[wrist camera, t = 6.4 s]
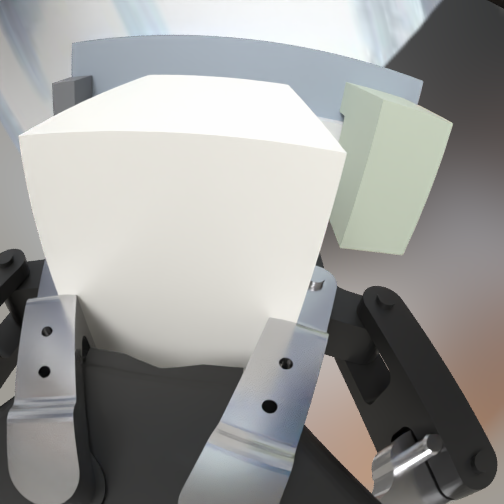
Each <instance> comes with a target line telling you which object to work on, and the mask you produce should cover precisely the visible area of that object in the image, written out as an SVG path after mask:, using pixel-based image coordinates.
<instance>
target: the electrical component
mask: <svg viewBox="0 0 504 504" xmlns="http://www.w3.org/2000/svg"><path fill="white" fill-rule="evenodd" d="M488 1H491V2H493V3H494V4H496V5H498V6H500V7H502V8H504V0H488Z"/></svg>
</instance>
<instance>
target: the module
mask: <svg viewBox="0 0 504 504" xmlns="http://www.w3.org/2000/svg"><path fill="white" fill-rule="evenodd" d="M19 143H20V150H21V157H22V163H23V169H24V174H25V179H26V184H27V189H28V194H29V198H30V203H31V207H32V211H33V215H34V219H35V223H36V227H37V231H38V234H39V238H40V241H41V245H42V248H43V251H44V254H45V258H46V261H47V264H48V267H49V270H50V273H51V276H52V279H53V282H54V284H55V287H56V290H57V293H58V295H66V294H69V295H77V297H78V300H79V303H80V306H81V309H82V311H83V314H84V317H85V320H86V322H87V325H88V328H89V330H90V333H91V336H92V338H93V341H94V343H95V346H96V348H97V349H102V350H107V351H112V352H118V353H124V354H126V355H129V356H131V357H134V358H136V359H138V360H141V361H143V362H146V363H148V364H151V365H153V366H156V367H159V368H173V367H184V366H193V365H202V364H205V365H216V366H227V367H240V368H244V369H243V373H244V370H245V368H246V366H247V364H248V362H249V360H250V358H251V356H252V353H253V351H254V349H255V347H256V345H257V343H258V340H259V338H260V336H261V334H262V332H263V330H264V327H265V325H266V323H267V321H268V319H269V317H271V318H276V319H282V320H287V321H291V322H295V323H297V320H298V317H299V314H300V311H301V308H302V305H303V302H304V299H305V296H306V293H307V290H308V287H309V284H310V281H311V278H312V275H313V271H314V268H315V265H316V262H317V259H318V255H319V252H320V249H321V245H322V242H323V239H324V235H325V232H326V228H327V225H328V222H329V218H330V215H331V211H332V208H333V204H334V200H335V197H336V193H337V189H338V186H339V182H340V178H341V174H342V171H343V167H344V163H345V159H346V155H347V153H346V151H345V150H344V149H343V148H342V146H341V145H340V144H339V143H338V141H337V140H336V139H335V138H334V136H333V135H332V134H331V133H330V132H329V130H328V129H327V128H326V127H325V126H324V124H323V123H322V122H321V121H320V120H319V118H318V117H317V116H316V115H315V114H314V113H313V112H312V110H311V109H310V108H309V107H308V106H307V105H306V104H305V102H304V101H303V100H302V99H301V98H300V97H299V96H298V95H297V94H296V93H295V91H294V90H293V89H292V88H291V87H290V86H289V85H286V84H280V83H273V82H265V81H257V80H248V79H238V78H227V77H214V76H196V75H147V76H144V77H141V78H139V79H136V80H133V81H131V82H128V83H125V84H123V85H120V86H118V87H115V88H113V89H110V90H108V91H106V92H103V93H101V94H99V95H96V96H94V97H92V98H90V99H88V100H85V101H83V102H81V103H79V104H77V105H75V106H73V107H71V108H69V109H67V110H65V111H63V112H61V113H59V114H57V115H55V116H53V117H51V118H49V119H47V120H45V121H44V122H42V123H40V124H38V125H36V126H35V127H33V128H31V129H29V130H28V131H26V132H24V133H22V134H21V135H19Z"/></svg>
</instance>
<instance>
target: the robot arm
mask: <svg viewBox="0 0 504 504" xmlns="http://www.w3.org/2000/svg"><path fill="white" fill-rule="evenodd" d="M4 302H5V304H6V306H7V308H8V309H9V311H10V313H9V315H8V316H7V317H6V318H5V319H4V320H3V322H2V323H1V324H0V388H1V387H2V385H3V384H4V382H5V381H6V379H7V378H8V376H9V375H10V373H11V372H12V371H13V369H14V368H15V367H16V365H17V371H16V384H15V396H14V397H13V398H11V399H10V400H8V401H7V402H6V403H4V404H3V405H2V406H0V504H448V503H451V502H454V501H456V500H459V499H461V498H464V497H466V496H468V495H471V494H473V493H475V492H477V491H479V490H482V489H484V488H486V487H487V486H488V485H490V483H491V482H492V481H493V479H494V477H495V475H496V471H497V457H496V454H495V452H494V450H493V448H492V446H491V444H490V442H489V440H488V438H487V436H486V434H485V432H484V430H483V428H482V427H481V425H480V423H479V421H478V419H477V417H476V416H475V414H474V412H473V410H472V408H471V407H470V405H469V403H468V401H467V400H466V398H465V396H464V394H463V393H462V391H461V389H460V388H459V386H458V384H457V383H456V381H455V379H454V378H453V376H452V374H451V373H450V371H449V369H448V368H447V366H446V365H445V363H444V361H443V360H442V358H441V357H440V355H439V354H438V352H437V351H436V349H435V347H434V346H433V344H432V343H431V341H430V340H429V338H428V337H427V335H426V334H425V332H424V331H423V329H422V328H421V326H420V325H419V323H418V322H417V320H416V319H415V317H414V316H413V315H412V313H411V312H410V310H409V309H408V308H407V306H406V305H405V303H404V302H403V300H402V299H401V298H400V296H398V295H397V294H396V293H395V292H394V291H392V290H390V289H388V288H385V287H381V286H372V287H369V288H367V289H366V290H365V292H364V294H363V296H362V295H358V294H355V293H352V292H349V291H346V290H343V289H341V288H339V287H338V286H337V282H336V279H335V277H334V276H333V275H332V274H331V273H330V272H329V271H327V270H326V269H324V266H323V263H322V259H321V256H320V252H319V255H318V259H317V262H316V265H315V268H314V271H313V275H312V278H311V281H310V284H309V287H308V290H307V293H306V296H305V299H304V302H303V305H302V308H301V311H300V314H299V317H298V320H297V323H295V322H291V321H287V320H282V319H276V318H271V317H269V319H268V321H267V323H266V325H265V327H264V330H263V332H262V334H261V336H260V338H259V340H258V343H257V345H256V347H255V349H254V351H253V353H252V356H251V358H250V360H249V362H248V364H247V366H246V368H245V370H244V373H243V369H244V368H240V367H227V366H216V365H205V364H202V365H193V366H184V367H173V368H159V367H156V366H153V365H151V364H148V363H146V362H143V361H141V360H138V359H136V358H134V357H131V356H129V355H126V354H124V353H118V352H112V351H107V350H102V349H97V348H96V346H95V343H94V341H93V338H92V336H91V333H90V330H89V328H88V325H87V322H86V320H85V317H84V314H83V311H82V309H81V306H80V303H79V300H78V297H77V295H69V294H66V295H58V293H57V290H56V287H55V284H54V282H53V279H52V276H51V273H50V270H49V267H48V264H47V261H46V258H45V259H44V260H37V261H29V262H27V261H26V258H25V255H24V253H23V252H22V251H21V250H19V249H10V250H7V251H4V252H2V253H0V306H1V305H2V304H3V303H4ZM379 353H380V354H381V356H382V357H381V356H380V354H379ZM324 354H326V355H329V356H332V357H335V360H336V363H337V365H338V367H339V369H340V371H341V373H342V375H343V378H344V379H345V382H346V384H347V386H348V388H349V390H350V393H351V395H352V397H353V399H354V401H355V404H356V406H357V408H358V410H359V412H360V415H361V417H362V419H363V421H364V423H365V426H366V428H367V430H368V432H369V435H370V437H371V439H372V441H373V443H374V445H375V448H376V450H377V455H376V456H375V458H374V460H373V463H372V478H373V480H374V489H373V492H372V493H370V492H369V491H368V490H367V489H366V488H365V487H364V486H363V485H362V484H361V483H360V482H359V481H358V480H357V479H356V478H355V477H354V476H353V475H352V474H351V473H350V472H349V471H348V470H347V469H346V468H345V467H344V466H343V465H342V464H341V463H340V462H339V461H338V460H337V459H336V458H335V457H334V456H333V455H332V454H331V453H330V452H329V450H328V449H327V448H326V447H325V446H324V445H323V444H322V443H321V442H320V441H319V440H318V439H317V438H316V437H315V436H314V435H313V434H312V432H311V431H310V430H309V429H308V428H307V427H306V426H305V425H304V423H305V420H306V416H307V414H308V410H309V407H310V404H311V400H312V397H313V394H314V390H315V386H316V383H317V379H318V376H319V372H320V368H321V365H322V361H323V357H324ZM382 358H383V359H382ZM383 360H384V361H383ZM384 362H385V363H386V365H387V367H388V368H387V367H386V365H385V363H384ZM388 369H389V370H388ZM389 371H390V372H389Z"/></svg>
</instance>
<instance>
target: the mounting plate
mask: <svg viewBox="0 0 504 504" xmlns="http://www.w3.org/2000/svg"><path fill="white" fill-rule="evenodd" d="M147 75H196V76H214V77H227V78H238V79H248V80H257V81H265V82H273V83H280V84H286V85H289V86H290V87H291V88H292V89H293V90H294V91H295V93H296V94H297V95H298V96H299V97H300V98H301V99H302V100H303V101H304V102H305V104H306V105H307V106H308V107H309V108H310V109H311V110H312V112H313V113H314V114H315V115H316V116H317V117H318V118H319V120H320V121H321V122H322V123H323V124H324V126H325V127H326V128H327V129H328V130H329V132H330V133H331V134H332V135H333V136H334V138H335V139H336V140H337V141H338V143H339V144H340V145H341V146H342V148H343V149H344V150H345V151H346V153H347V155H346V159H345V163H344V167H343V171H342V174H341V178H340V182H339V186H338V189H337V193H336V197H335V200H334V204H333V208H332V211H331V215H330V218H329V220H330V223H331V226H332V228H333V231H334V234H335V236H336V239H337V242H338V244H339V247H340V248H344V249H353V250H362V251H371V252H379V253H389V254H397V255H403V254H404V251H405V249H406V247H407V245H408V242H409V240H410V238H411V236H412V234H413V231H414V229H415V227H416V224H417V222H418V219H419V217H420V215H421V212H422V210H423V208H424V205H425V203H426V200H427V197H428V195H429V192H430V190H431V187H432V184H433V182H434V179H435V176H436V174H437V171H438V168H439V165H440V162H441V159H442V156H443V153H444V150H445V147H446V144H447V141H448V138H449V135H450V131H451V128H452V125H453V123H451V122H449V121H448V120H446V119H444V118H442V117H440V116H438V115H437V114H435V113H433V112H431V111H429V110H427V109H425V108H423V107H421V106H419V105H418V101H419V97H420V93H421V88H422V85H423V81H421V80H418V79H416V78H413V77H411V76H408V75H405V74H402V73H399V72H396V71H393V70H390V69H387V68H384V67H381V66H378V65H374V64H371V63H367V62H364V61H360V60H357V59H353V58H349V57H345V56H341V55H337V54H333V53H329V52H324V51H320V50H315V49H310V48H305V47H299V46H294V45H288V44H282V43H275V42H268V41H260V40H252V39H243V38H232V37H218V36H198V35H151V36H131V37H118V38H107V39H98V40H90V41H83V42H76V43H72V77H71V78H68V79H64V80H61V81H58V82H55V83H52V87H53V111H54V116H55V115H57V114H59V113H61V112H63V111H65V110H67V109H69V108H71V107H73V106H75V105H77V104H79V103H81V102H83V101H85V100H88V99H90V98H92V97H94V96H96V95H99V94H101V93H103V92H106V91H108V90H110V89H113V88H115V87H118V86H120V85H123V84H125V83H128V82H131V81H133V80H136V79H139V78H141V77H144V76H147Z"/></svg>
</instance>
